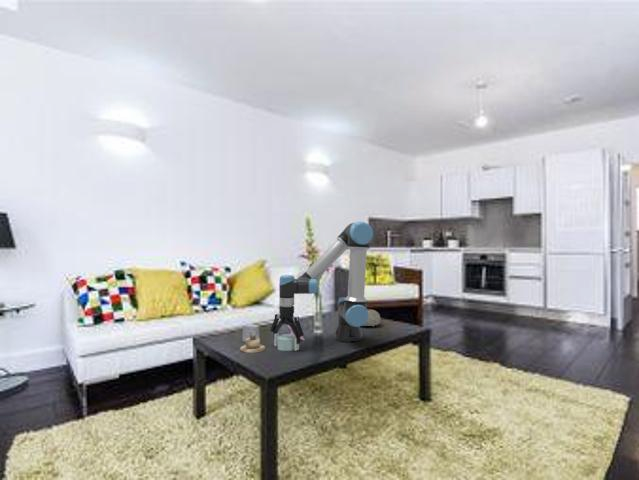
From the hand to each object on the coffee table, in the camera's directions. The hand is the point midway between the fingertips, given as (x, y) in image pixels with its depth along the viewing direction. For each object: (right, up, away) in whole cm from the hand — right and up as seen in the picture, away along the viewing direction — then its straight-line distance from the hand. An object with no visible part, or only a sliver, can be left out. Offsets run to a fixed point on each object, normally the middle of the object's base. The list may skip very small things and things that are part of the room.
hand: (286, 347), depth 188 cm
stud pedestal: (-17, 0, -2) cm, 17 cm away
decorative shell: (+47, -1, +51) cm, 70 cm away
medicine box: (-20, 0, +13) cm, 24 cm away
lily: (+3, 0, +14) cm, 14 cm away
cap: (0, 0, 0) cm, 0 cm away
